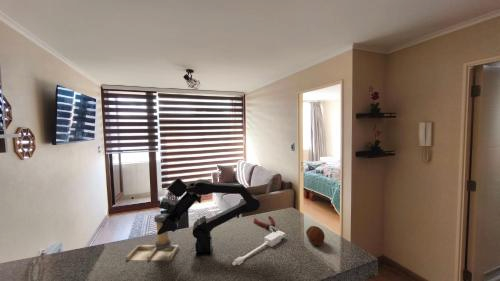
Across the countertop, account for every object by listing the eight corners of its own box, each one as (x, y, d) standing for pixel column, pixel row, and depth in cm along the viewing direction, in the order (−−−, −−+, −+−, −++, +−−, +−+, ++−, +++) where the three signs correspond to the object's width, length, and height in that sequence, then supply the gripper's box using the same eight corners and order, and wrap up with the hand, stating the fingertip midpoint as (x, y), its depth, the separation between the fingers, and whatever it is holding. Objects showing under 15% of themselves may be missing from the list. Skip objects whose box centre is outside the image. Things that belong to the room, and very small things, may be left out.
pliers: (266, 238, 111) (266, 233, 111) (252, 222, 130) (252, 217, 130) (286, 234, 115) (286, 229, 115) (270, 219, 134) (270, 215, 134)
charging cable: (229, 265, 90) (229, 257, 90) (277, 234, 113) (277, 228, 113) (237, 271, 87) (237, 263, 86) (285, 238, 109) (285, 231, 109)
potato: (315, 235, 112) (315, 220, 111) (330, 247, 101) (330, 230, 100) (302, 237, 110) (302, 222, 109) (315, 250, 99) (315, 232, 98)
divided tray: (178, 250, 100) (178, 244, 100) (171, 262, 91) (171, 255, 91) (137, 250, 100) (137, 244, 100) (126, 262, 91) (125, 255, 91)
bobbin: (172, 241, 98) (171, 213, 97) (168, 249, 92) (166, 218, 91) (158, 242, 98) (157, 213, 97) (153, 249, 92) (151, 219, 91)
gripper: (173, 186, 103) (149, 211, 102) (166, 198, 85) (137, 229, 83) (191, 201, 105) (168, 226, 104) (188, 216, 87) (160, 247, 86)
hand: (159, 231), depth 94 cm, fingers closed on bobbin, 5 cm apart
